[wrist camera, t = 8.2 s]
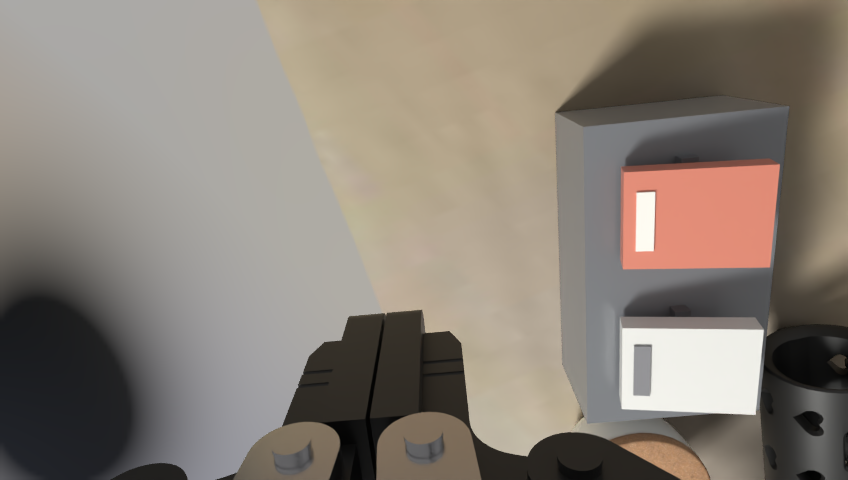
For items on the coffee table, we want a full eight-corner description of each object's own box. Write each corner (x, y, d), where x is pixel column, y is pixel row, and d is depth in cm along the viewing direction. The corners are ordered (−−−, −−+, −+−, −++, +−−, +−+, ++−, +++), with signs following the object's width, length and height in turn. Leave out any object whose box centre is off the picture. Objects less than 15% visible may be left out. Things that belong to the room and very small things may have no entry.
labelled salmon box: (620, 166, 34) (624, 173, 33) (769, 158, 32) (781, 165, 31) (620, 259, 36) (623, 270, 34) (760, 257, 34) (770, 268, 33)
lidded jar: (540, 478, 52) (563, 567, 43) (559, 377, 49) (589, 450, 40) (656, 487, 52) (703, 578, 43) (683, 387, 49) (740, 462, 40)
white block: (619, 316, 37) (622, 329, 36) (755, 317, 35) (764, 331, 34) (619, 395, 39) (621, 410, 38) (747, 399, 37) (756, 416, 36)
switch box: (554, 112, 41) (587, 129, 33) (722, 95, 41) (798, 107, 33) (562, 364, 48) (590, 431, 40) (706, 352, 48) (766, 417, 39)
